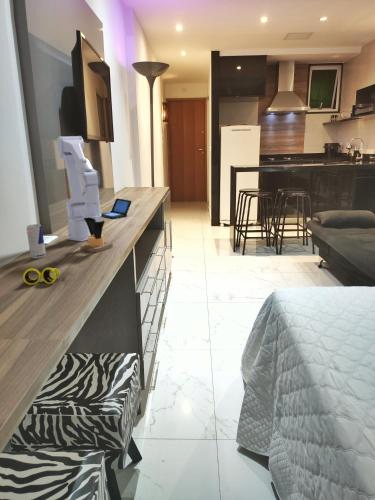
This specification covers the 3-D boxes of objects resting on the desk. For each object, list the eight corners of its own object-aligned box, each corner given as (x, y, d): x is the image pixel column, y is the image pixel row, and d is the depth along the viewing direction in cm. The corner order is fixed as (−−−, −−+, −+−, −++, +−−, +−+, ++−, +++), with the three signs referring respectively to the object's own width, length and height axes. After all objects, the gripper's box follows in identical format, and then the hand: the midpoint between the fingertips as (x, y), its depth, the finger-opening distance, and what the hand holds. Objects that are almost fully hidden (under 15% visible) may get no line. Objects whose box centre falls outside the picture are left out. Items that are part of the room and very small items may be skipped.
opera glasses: (60, 281, 115) (59, 265, 114) (56, 283, 110) (55, 267, 109) (29, 283, 114) (27, 267, 114) (23, 286, 109) (21, 269, 108)
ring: (86, 245, 146) (85, 237, 145) (96, 242, 150) (95, 234, 149) (96, 247, 143) (95, 238, 142) (106, 243, 147) (105, 235, 146)
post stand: (80, 249, 145) (78, 234, 144) (96, 244, 153) (95, 230, 151) (96, 252, 141) (95, 237, 139) (112, 246, 148) (111, 232, 146)
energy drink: (49, 255, 139) (44, 224, 136) (39, 259, 135) (34, 227, 131) (37, 254, 141) (33, 223, 138) (27, 258, 136) (22, 226, 133)
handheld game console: (98, 216, 215) (97, 200, 212) (117, 213, 224) (116, 198, 221) (114, 219, 204) (112, 203, 201) (133, 216, 213) (132, 200, 210)
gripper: (77, 201, 146) (81, 234, 150) (86, 206, 134) (90, 241, 137) (95, 199, 149) (98, 232, 153) (105, 204, 137) (108, 239, 141)
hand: (95, 236), depth 145 cm, fingers open, 7 cm apart
